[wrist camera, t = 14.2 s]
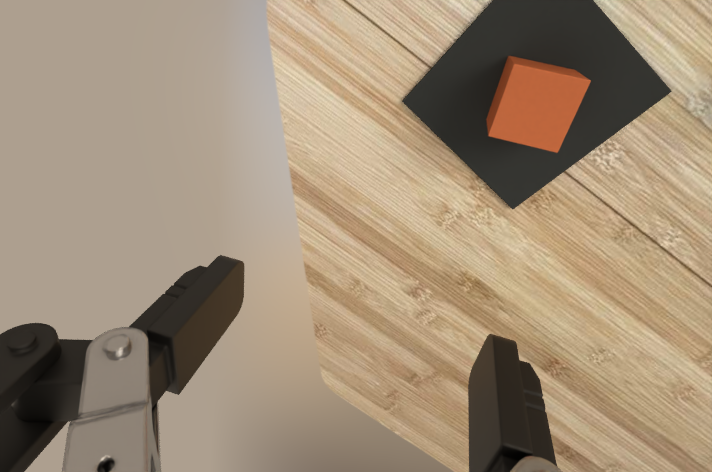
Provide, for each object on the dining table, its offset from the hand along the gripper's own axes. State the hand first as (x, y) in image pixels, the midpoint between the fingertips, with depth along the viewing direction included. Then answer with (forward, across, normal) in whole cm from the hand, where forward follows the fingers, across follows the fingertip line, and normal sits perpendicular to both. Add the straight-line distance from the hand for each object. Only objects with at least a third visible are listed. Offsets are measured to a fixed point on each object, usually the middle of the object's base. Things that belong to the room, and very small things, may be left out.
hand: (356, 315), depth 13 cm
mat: (+26, -7, -4) cm, 27 cm away
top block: (+26, -7, -4) cm, 27 cm away
